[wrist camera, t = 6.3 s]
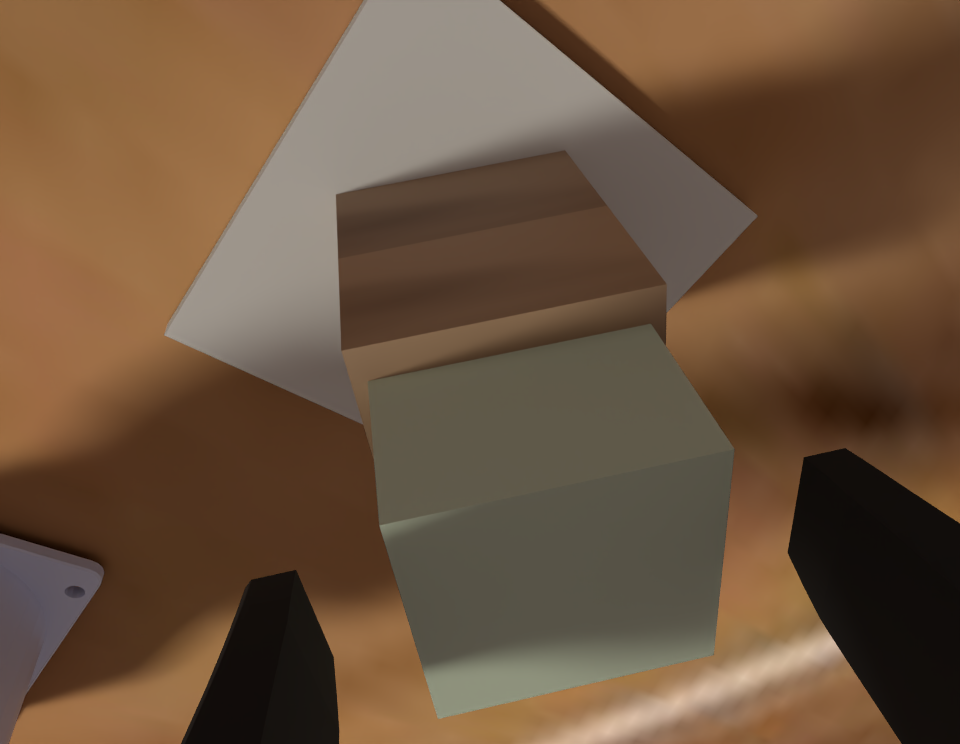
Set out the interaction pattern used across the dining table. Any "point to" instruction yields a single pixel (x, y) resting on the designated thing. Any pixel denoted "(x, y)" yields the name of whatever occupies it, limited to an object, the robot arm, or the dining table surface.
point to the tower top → (492, 295)
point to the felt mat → (422, 153)
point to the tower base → (461, 203)
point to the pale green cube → (551, 515)
